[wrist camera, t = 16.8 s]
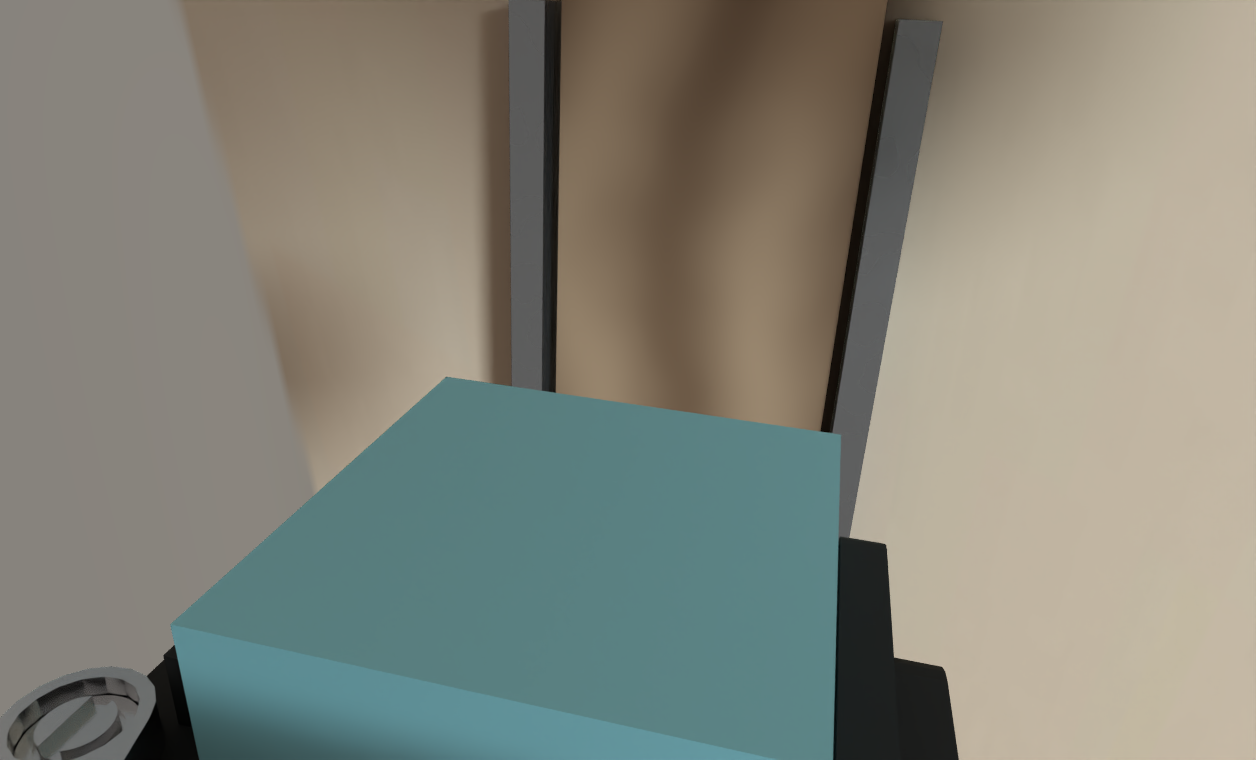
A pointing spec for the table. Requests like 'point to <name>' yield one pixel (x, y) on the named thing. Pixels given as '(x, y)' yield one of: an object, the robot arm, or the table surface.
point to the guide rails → (879, 245)
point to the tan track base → (709, 199)
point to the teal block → (535, 593)
